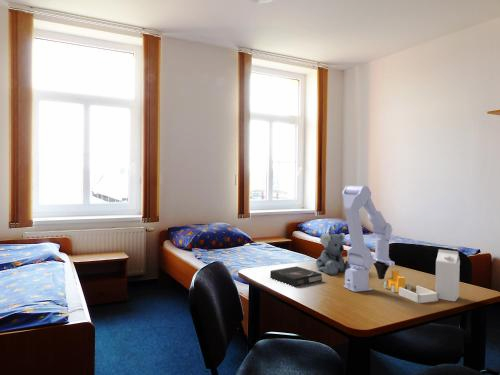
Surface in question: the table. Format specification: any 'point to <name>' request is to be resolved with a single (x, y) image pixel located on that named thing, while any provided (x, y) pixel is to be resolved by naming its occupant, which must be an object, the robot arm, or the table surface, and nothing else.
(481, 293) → the table surface
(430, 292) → the end holder
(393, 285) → the clips
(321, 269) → the koala plush
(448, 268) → the milk carton
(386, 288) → the small blocks
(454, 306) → the table surface
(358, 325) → the table surface
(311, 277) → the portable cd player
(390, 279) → the pipe clamp
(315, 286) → the table surface
